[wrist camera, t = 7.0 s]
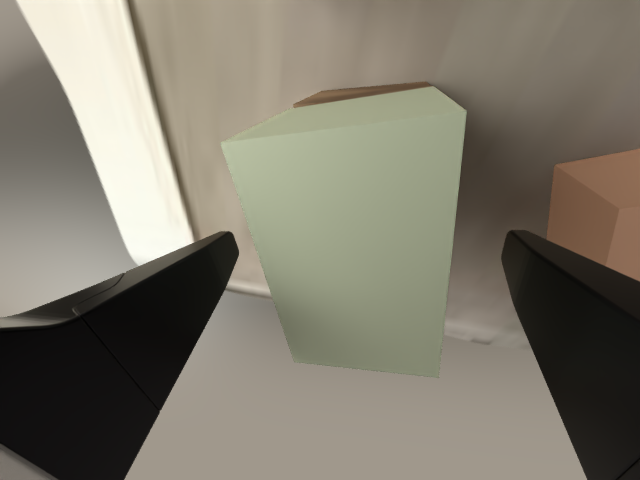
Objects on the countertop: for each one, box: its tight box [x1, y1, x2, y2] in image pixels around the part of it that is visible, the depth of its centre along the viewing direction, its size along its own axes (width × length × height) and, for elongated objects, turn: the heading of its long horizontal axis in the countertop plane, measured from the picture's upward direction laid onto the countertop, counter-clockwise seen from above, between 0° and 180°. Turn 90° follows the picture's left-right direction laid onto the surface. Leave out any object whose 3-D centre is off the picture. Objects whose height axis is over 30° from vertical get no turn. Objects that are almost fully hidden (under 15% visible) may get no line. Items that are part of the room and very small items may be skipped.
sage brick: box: [220, 86, 467, 378], centre depth 10 cm, size 5×8×5 cm, turn 9°
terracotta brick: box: [546, 149, 640, 281], centre depth 13 cm, size 5×8×5 cm, turn 17°
